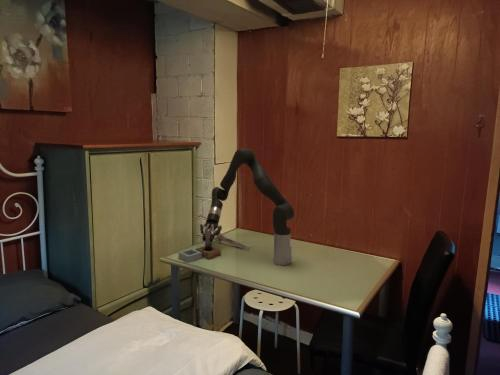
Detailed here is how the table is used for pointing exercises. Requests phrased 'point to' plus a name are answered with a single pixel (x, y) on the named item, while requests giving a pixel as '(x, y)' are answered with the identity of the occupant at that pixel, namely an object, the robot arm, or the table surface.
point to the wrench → (230, 241)
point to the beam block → (209, 252)
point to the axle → (208, 239)
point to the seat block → (190, 255)
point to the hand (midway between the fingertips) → (207, 240)
